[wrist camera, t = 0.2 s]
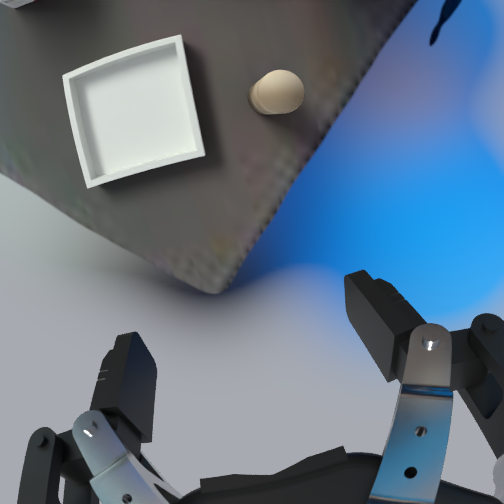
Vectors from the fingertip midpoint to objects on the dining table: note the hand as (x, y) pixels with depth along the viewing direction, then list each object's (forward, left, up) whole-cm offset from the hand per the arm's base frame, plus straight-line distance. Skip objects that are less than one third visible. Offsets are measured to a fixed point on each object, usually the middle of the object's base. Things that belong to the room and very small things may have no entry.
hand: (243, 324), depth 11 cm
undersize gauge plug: (-9, +7, -29) cm, 31 cm away
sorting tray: (-11, -9, -29) cm, 32 cm away
